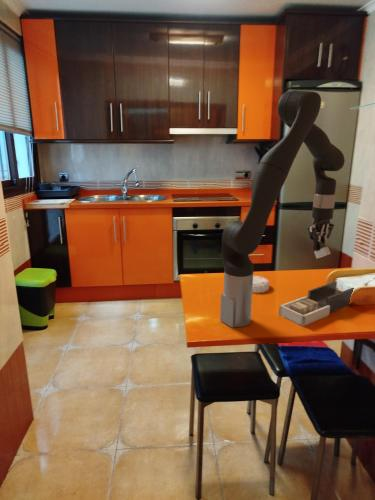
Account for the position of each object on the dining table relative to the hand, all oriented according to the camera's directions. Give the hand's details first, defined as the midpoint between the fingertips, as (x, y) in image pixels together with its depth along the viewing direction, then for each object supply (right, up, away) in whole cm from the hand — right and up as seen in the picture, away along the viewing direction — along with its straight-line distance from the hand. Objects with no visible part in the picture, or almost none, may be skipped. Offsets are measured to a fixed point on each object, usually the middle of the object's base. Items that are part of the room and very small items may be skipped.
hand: (318, 249), depth 136 cm
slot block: (+1, -20, -9) cm, 22 cm away
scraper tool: (+1, -3, -1) cm, 3 cm away
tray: (-11, -23, -17) cm, 30 cm away
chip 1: (-12, -20, -18) cm, 30 cm away
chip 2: (-10, -22, -16) cm, 29 cm away
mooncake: (-24, -16, +8) cm, 30 cm away
